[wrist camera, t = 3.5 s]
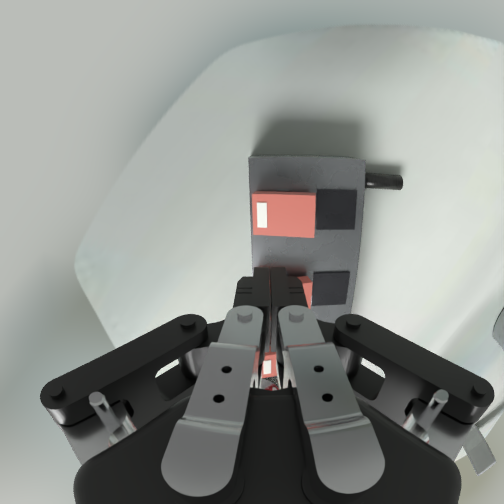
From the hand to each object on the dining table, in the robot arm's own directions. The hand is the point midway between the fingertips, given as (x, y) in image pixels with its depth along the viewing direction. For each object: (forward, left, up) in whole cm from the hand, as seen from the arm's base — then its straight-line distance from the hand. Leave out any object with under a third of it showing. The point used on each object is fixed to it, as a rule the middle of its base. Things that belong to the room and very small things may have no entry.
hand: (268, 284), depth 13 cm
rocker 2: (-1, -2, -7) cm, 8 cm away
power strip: (-6, +5, -13) cm, 15 cm away
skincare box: (-59, +60, -13) cm, 86 cm away
